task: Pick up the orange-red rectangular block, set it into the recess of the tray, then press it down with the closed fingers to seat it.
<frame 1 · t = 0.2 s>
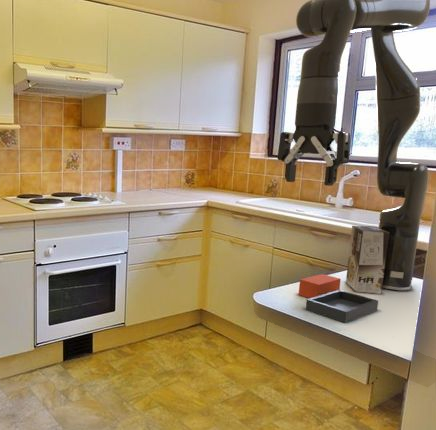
hand: (308, 183, 94), 29 cm above the counter, tool pointing down, fingers open, 8 cm apart
tray: (341, 310, 104), on the counter
orange-red rectangular block: (318, 294, 114), on the counter
coffee box: (362, 288, 121), on the counter
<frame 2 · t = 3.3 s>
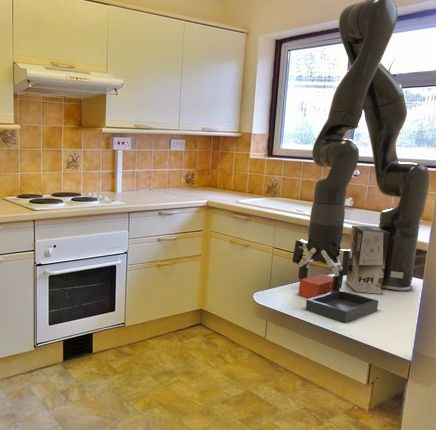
hand: (318, 285, 114), 2 cm above the counter, tool pointing down, fingers open, 8 cm apart
nothing on the counter moved.
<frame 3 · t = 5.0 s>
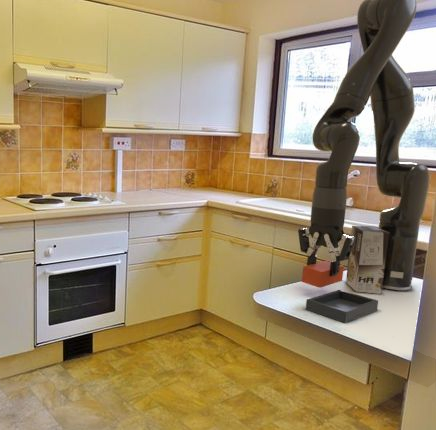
hand: (322, 272, 114), 6 cm above the counter, tool pointing down, fingers closed on orange-red rectangular block, 5 cm apart
orange-red rectangular block: (322, 281, 114), point 3 cm above the counter, touching gripper
everything else where it was.
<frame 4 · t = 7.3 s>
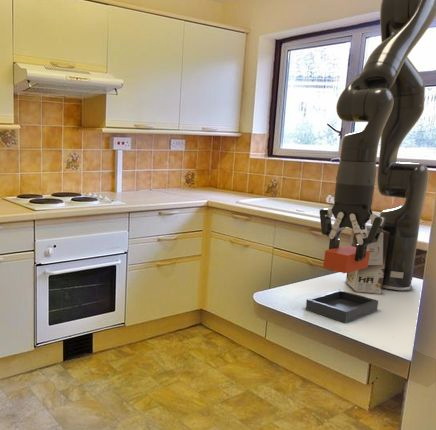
hand: (346, 257, 102), 12 cm above the counter, tool pointing down, fingers closed on orange-red rectangular block, 5 cm apart
orange-red rectangular block: (345, 267, 103), point 10 cm above the counter, touching gripper
everything else where it was.
when the fingers open (3 cm above the counter, at t = 9.6 s): orange-red rectangular block stays where it is, resting on tray.
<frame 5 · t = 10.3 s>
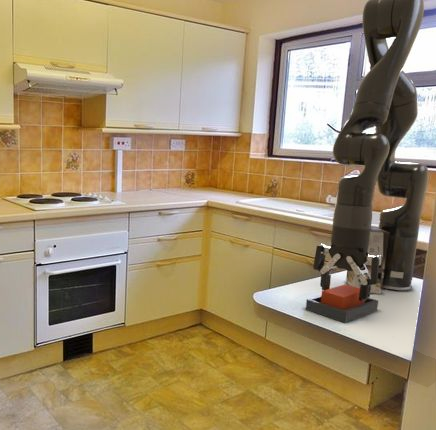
hand: (343, 295, 103), 4 cm above the counter, tool pointing down, fingers open, 8 cm apart
orange-red rectangular block: (342, 307, 104), point 1 cm above the counter, touching tray
everything else where it was.
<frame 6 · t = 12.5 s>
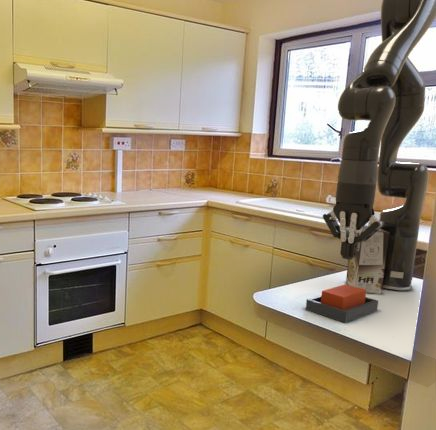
hand: (347, 258, 102), 12 cm above the counter, tool pointing down, fingers closed
nothing on the counter moved.
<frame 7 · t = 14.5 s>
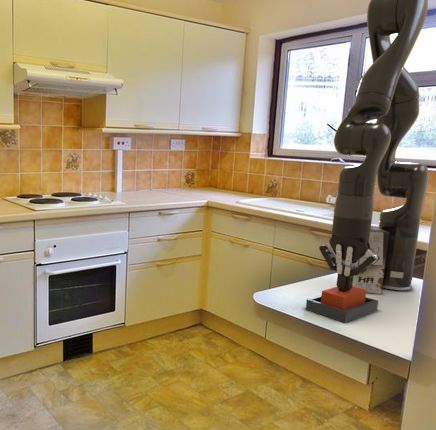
hand: (343, 290, 103), 5 cm above the counter, tool pointing down, fingers closed
orange-red rectangular block: (342, 307, 104), point 1 cm above the counter, touching tray, gripper
everything else where it was.
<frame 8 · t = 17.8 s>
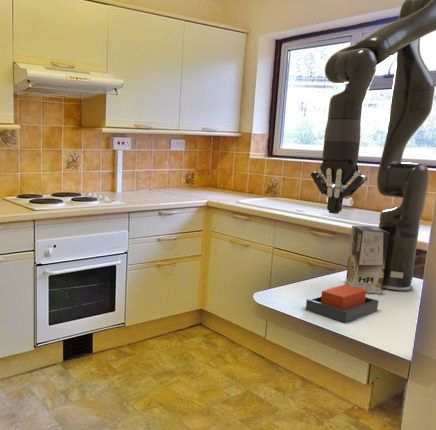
hand: (333, 213, 109), 21 cm above the counter, tool pointing down, fingers closed
orange-red rectangular block: (342, 307, 104), point 1 cm above the counter, touching tray
everything else where it was.
at the end: orange-red rectangular block 0.3 cm off-centre in the tray, point 0.6 cm above the tray's base; orange-red rectangular block tilted 0°; the gripper is holding nothing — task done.
